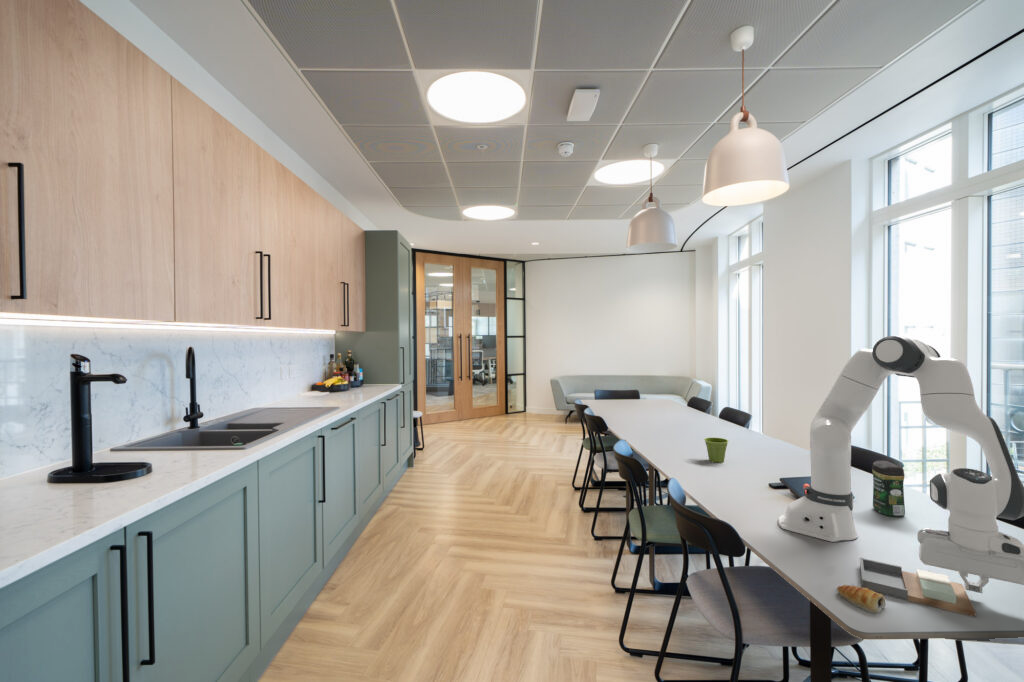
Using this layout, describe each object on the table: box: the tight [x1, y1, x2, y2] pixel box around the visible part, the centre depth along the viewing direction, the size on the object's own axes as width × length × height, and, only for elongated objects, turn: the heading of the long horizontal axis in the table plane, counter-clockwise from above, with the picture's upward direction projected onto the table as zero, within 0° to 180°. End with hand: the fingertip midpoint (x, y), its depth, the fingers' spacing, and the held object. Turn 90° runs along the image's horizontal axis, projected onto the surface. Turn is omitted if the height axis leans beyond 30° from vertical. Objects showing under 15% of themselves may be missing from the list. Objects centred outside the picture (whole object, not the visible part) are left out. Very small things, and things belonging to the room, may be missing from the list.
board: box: [902, 570, 976, 618], centre depth 115 cm, size 12×14×1 cm
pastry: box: [836, 584, 887, 614], centre depth 113 cm, size 9×7×4 cm
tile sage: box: [920, 579, 956, 604], centre depth 113 cm, size 6×5×2 cm
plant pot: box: [703, 436, 730, 464], centre depth 237 cm, size 12×12×11 cm
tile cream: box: [916, 568, 951, 586], centre depth 117 cm, size 6×5×2 cm
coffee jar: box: [871, 460, 906, 518], centre depth 166 cm, size 10×8×19 cm
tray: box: [859, 557, 908, 601], centre depth 121 cm, size 9×14×2 cm, turn 144°
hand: (973, 590), depth 113 cm, fingers closed
